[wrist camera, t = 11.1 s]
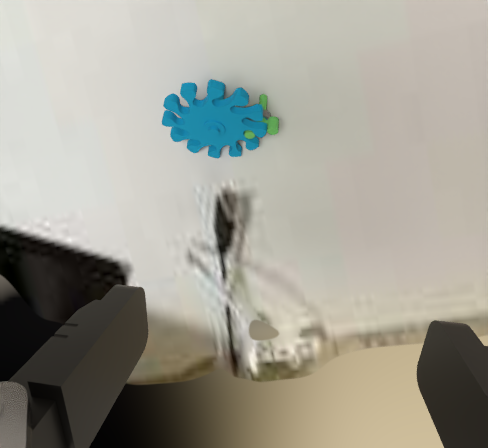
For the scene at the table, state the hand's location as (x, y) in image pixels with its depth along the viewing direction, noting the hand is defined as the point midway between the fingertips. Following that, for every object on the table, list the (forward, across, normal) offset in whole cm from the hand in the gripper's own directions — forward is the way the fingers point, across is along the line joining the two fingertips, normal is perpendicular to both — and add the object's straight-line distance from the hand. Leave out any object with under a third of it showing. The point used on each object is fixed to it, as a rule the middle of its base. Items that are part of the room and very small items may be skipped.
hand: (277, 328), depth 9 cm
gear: (+29, +7, -3) cm, 30 cm away
